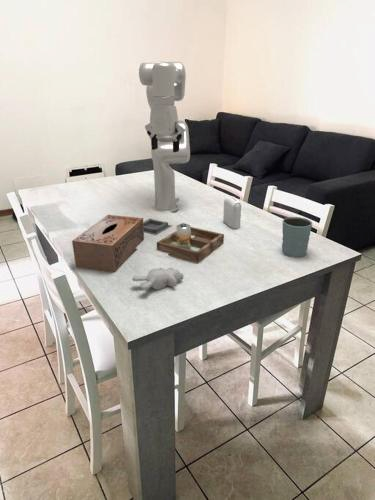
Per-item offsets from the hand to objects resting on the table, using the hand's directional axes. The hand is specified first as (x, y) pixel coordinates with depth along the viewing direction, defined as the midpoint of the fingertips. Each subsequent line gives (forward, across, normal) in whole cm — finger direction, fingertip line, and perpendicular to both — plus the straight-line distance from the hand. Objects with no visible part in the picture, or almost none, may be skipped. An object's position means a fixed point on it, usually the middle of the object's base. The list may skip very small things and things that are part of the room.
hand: (165, 150), depth 138 cm
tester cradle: (+33, -6, -2) cm, 34 cm away
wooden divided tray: (+33, +17, -9) cm, 38 cm away
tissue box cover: (+33, -5, -28) cm, 44 cm away
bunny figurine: (+33, +23, -38) cm, 55 cm away
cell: (+32, +17, -14) cm, 38 cm away
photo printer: (+33, +20, +20) cm, 44 cm away
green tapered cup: (+33, +51, +6) cm, 61 cm away
